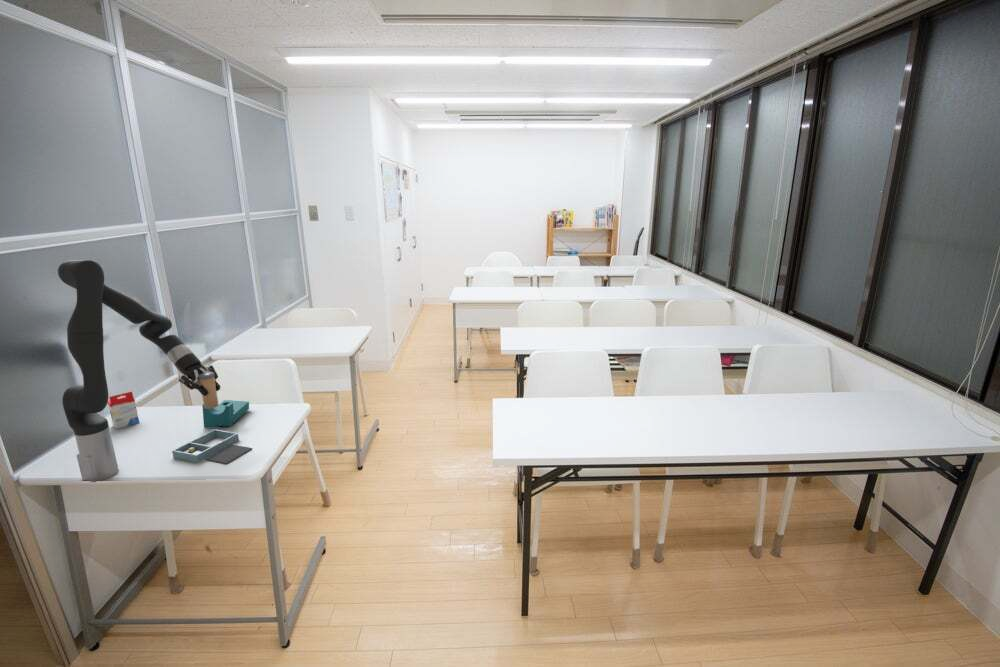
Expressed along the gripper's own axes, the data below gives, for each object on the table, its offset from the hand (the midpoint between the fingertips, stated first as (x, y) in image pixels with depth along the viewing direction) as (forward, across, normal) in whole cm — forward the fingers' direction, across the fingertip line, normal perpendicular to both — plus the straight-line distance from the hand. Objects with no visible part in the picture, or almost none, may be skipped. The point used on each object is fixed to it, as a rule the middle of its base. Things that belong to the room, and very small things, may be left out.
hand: (212, 391), depth 186 cm
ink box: (-23, +4, +56) cm, 60 cm away
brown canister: (+3, 0, +6) cm, 6 cm away
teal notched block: (+3, +21, +29) cm, 36 cm away
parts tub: (+14, -3, +19) cm, 23 cm away
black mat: (+22, -4, +10) cm, 25 cm away
